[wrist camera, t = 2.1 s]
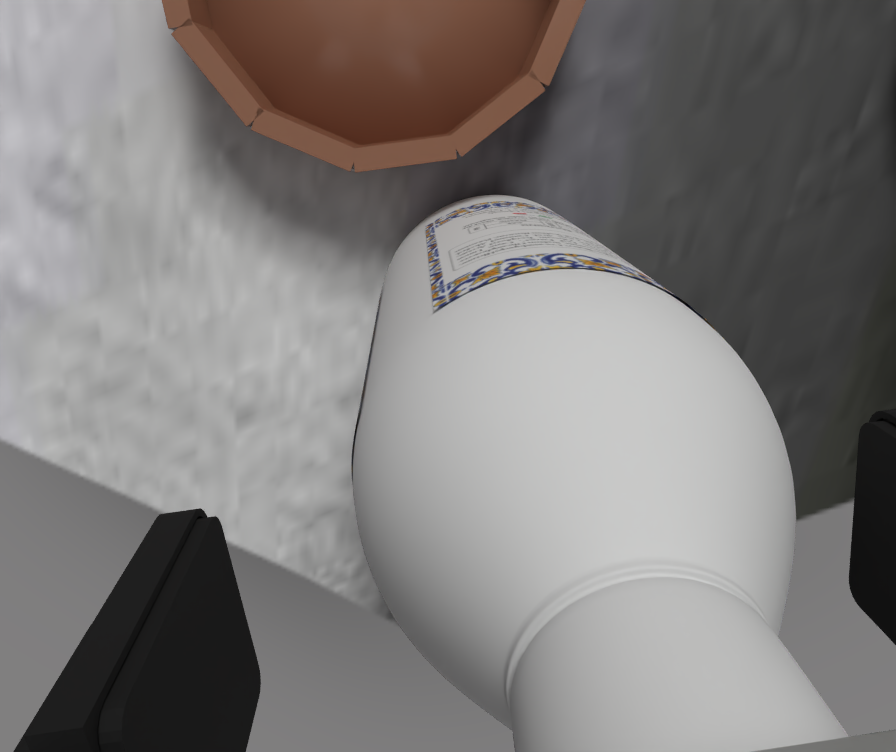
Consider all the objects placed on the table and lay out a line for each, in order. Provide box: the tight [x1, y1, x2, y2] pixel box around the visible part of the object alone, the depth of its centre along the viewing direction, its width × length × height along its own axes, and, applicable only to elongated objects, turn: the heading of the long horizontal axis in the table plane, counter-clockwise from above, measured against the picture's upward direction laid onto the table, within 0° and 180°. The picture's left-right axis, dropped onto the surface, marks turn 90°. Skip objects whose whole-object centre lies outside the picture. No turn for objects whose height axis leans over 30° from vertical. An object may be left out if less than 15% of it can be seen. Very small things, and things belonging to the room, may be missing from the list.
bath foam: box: [352, 195, 849, 752], centre depth 14 cm, size 7×7×20 cm
